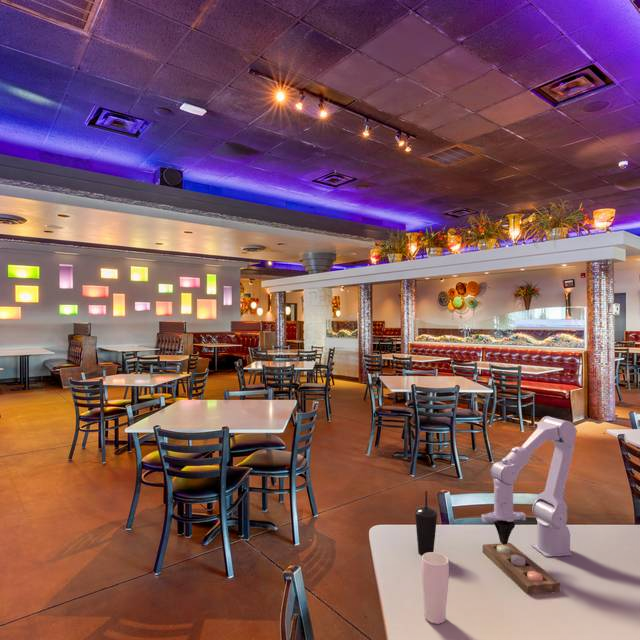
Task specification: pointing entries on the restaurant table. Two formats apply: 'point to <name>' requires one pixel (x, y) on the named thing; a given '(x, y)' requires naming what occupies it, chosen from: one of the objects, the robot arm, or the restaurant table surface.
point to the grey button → (518, 560)
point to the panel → (521, 570)
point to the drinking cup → (425, 527)
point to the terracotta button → (534, 576)
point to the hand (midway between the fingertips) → (503, 543)
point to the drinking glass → (435, 586)
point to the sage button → (503, 549)
